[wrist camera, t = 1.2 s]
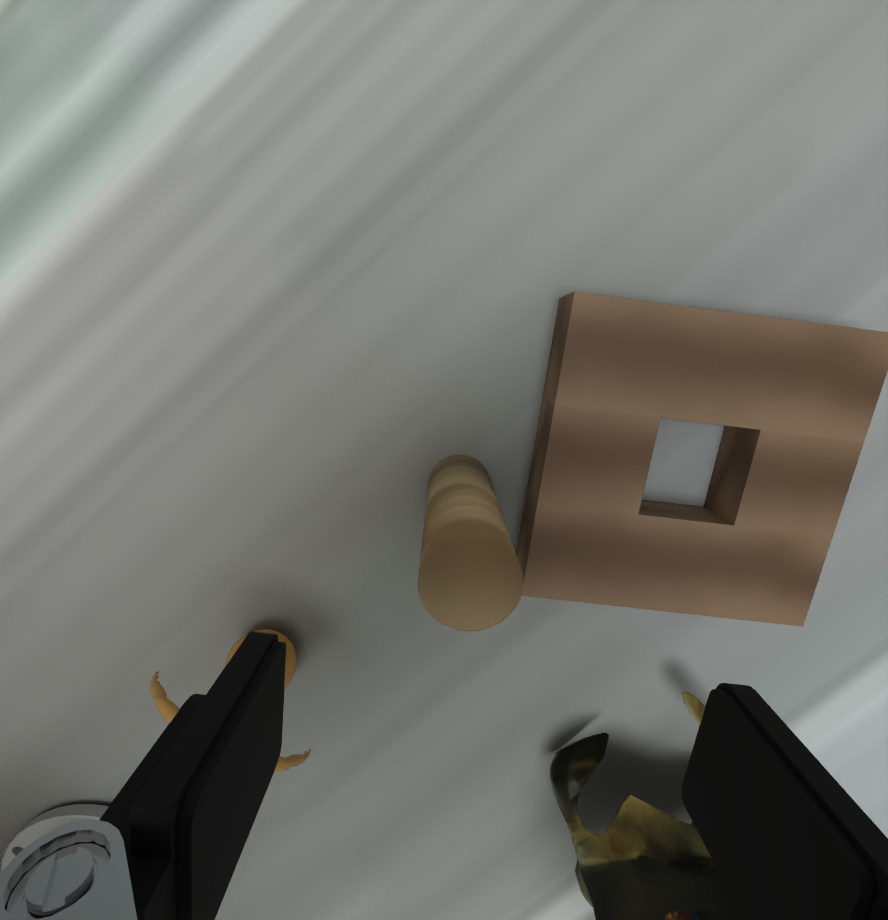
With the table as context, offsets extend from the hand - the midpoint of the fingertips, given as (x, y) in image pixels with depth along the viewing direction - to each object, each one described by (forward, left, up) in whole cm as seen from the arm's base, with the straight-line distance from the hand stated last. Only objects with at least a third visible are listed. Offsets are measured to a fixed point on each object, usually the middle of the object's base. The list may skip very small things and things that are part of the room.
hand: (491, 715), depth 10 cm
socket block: (+3, -12, -18) cm, 22 cm away
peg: (0, 0, -18) cm, 18 cm away
